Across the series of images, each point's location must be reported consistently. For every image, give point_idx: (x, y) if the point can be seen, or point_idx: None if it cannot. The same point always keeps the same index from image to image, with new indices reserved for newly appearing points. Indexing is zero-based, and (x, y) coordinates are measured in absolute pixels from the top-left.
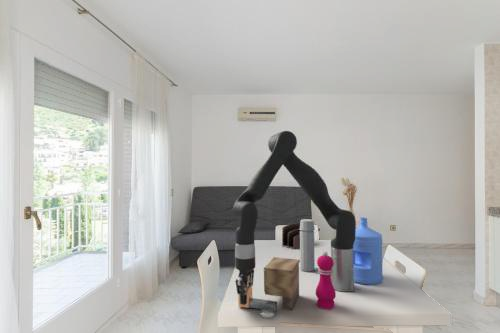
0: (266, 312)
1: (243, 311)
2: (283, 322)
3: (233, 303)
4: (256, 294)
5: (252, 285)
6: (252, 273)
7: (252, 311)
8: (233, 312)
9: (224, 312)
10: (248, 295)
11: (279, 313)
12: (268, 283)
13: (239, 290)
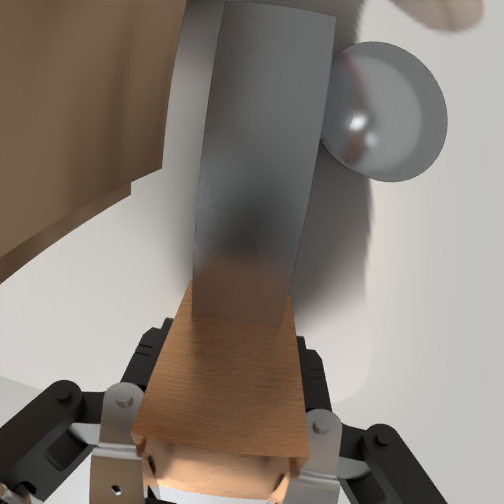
0: (407, 120)
1: (327, 315)
2: (451, 11)
3: None
4: (29, 269)
5: (70, 382)
6: (4, 497)
7: (322, 251)
8: (343, 364)
9: (342, 398)
10: (299, 380)
11: (322, 10)
12: (16, 86)
13: (346, 479)
